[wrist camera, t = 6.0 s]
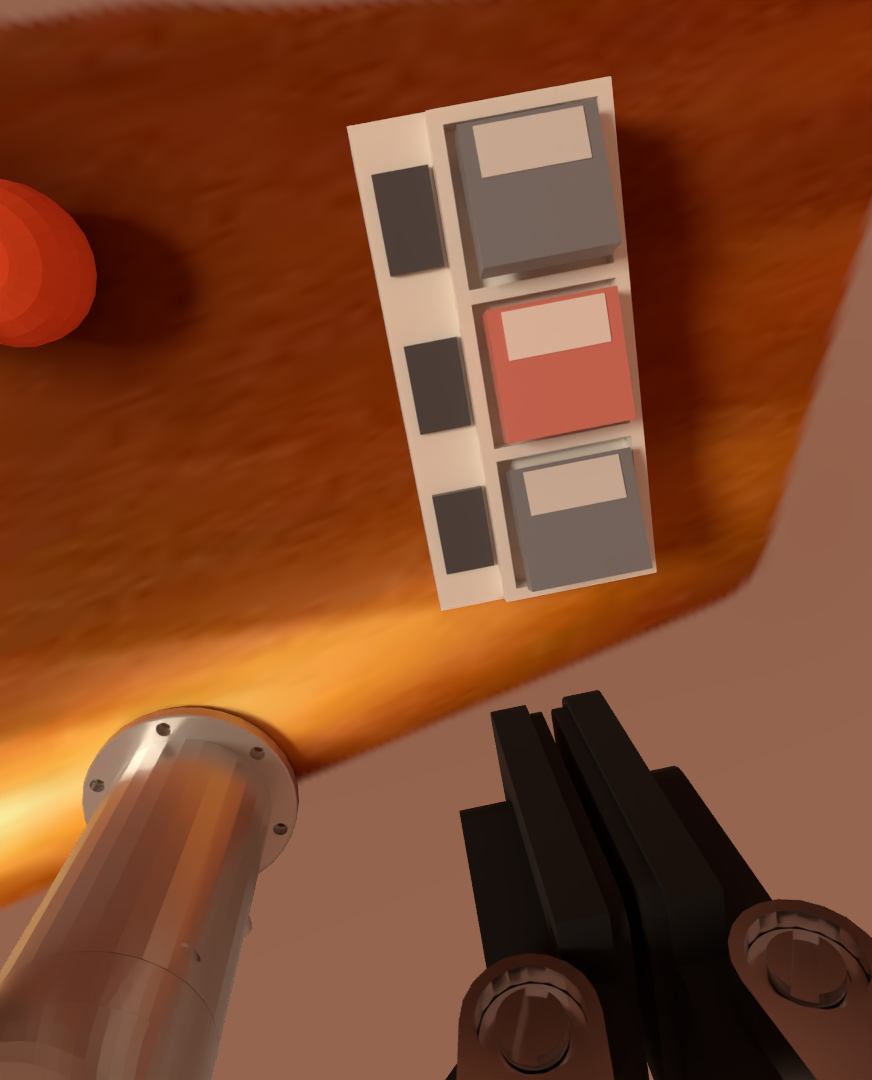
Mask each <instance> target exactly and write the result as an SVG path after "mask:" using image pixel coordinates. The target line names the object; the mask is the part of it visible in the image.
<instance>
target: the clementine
mask: <svg viewBox="0 0 872 1080" xmlns="http://www.w3.org/2000/svg"><path fill="white" fill-rule="evenodd" d="M96 282H97V272H96V266H95V260H94V255H93V252H92V250H91V248H90V245H89V243H88V241H87V238H86V236H85V234H84V233H83V231H82V230H81V229H80V227H79V226H78V225H77V223H76V222H75V220H74V219H73V218H72V217H71V216H70V215H69V214H68V213H67V212H66V211H65V210H63V209H62V208H61V207H60V206H59V205H58V204H57V203H55V202H54V201H53V200H51V199H50V198H49V197H47V196H46V195H44V194H42V193H40V192H38V191H36V190H35V189H33V188H31V187H29V186H27V185H24V184H20V183H16V182H12V181H8V180H4V179H0V344H2V345H7V346H11V347H37V346H40V345H43V344H46V343H49V342H52V341H55V340H58V339H61V338H63V337H64V336H66V335H67V334H69V333H70V332H71V331H73V330H74V329H76V328H77V327H78V326H79V325H80V323H81V322H82V321H83V319H84V318H85V317H86V316H87V314H88V313H89V310H90V308H91V305H92V303H93V300H94V297H95V293H96Z"/></svg>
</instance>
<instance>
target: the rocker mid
mask: <svg viewBox="0 0 872 1080" xmlns="http://www.w3.org/2000/svg"><path fill="white" fill-rule="evenodd" d="M482 317H483V323H484V329H485V335H486V341H487V346H488V352H489V358H490V364H491V369H492V375H493V381H494V387H495V393H496V398H497V404H498V410H499V416H500V422H501V427H502V433H503V439H504V443H507V444H510V443H515V442H521V441H526V440H531V439H536V438H541V437H546V436H551V435H557V434H562V433H567V432H572V431H577V430H582V429H587V428H592V427H598V426H603V425H608V424H613V423H618V422H623V421H628V420H633V419H636V414H635V407H634V400H633V393H632V386H631V379H630V372H629V365H628V357H627V350H626V343H625V336H624V329H623V322H622V315H621V307H620V300H619V293H618V286H611V287H606V288H601V289H596V290H590V291H585V292H580V293H575V294H569V295H564V296H559V297H554V298H549V299H543V300H538V301H533V302H528V303H522V304H517V305H512V306H507V307H502V308H496V309H491V310H486V311H485V313H484V314H483V315H482Z"/></svg>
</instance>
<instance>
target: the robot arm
mask: <svg viewBox="0 0 872 1080" xmlns="http://www.w3.org/2000/svg"><path fill="white" fill-rule="evenodd" d="M562 705H563V707H562V708H556V709H552V711H551V715H552V722H553V729H554V736H555V741H554V739H553V737H552V734H551V732H550V730H549V728H548V725H547V723H546V721H545V718H544V716H543V714H542V712H537V713H532V714H529V712H528V709H527V707H526V705H523V706H518V707H513V708H508V709H503V710H499V711H494V712H491V720H492V726H493V731H494V738H495V743H496V748H497V754H498V759H499V765H500V771H501V776H502V781H503V787H504V792H505V798H506V801H504V802H499V803H495V804H490V805H485V806H480V807H475V808H471V809H466V810H461V811H460V817H461V823H462V829H463V835H464V840H465V846H466V852H467V857H468V863H469V869H470V874H471V880H472V887H473V892H474V898H475V904H476V909H477V915H478V921H479V927H480V933H481V938H482V944H483V950H484V956H485V962H486V967H487V969H486V970H485V971H484V972H483V973H482V974H480V975H479V977H477V978H476V979H475V980H474V981H473V983H472V984H471V986H470V988H469V990H468V992H467V993H466V995H465V997H464V999H463V1001H462V1006H461V1012H460V1017H459V1025H458V1051H457V1052H458V1053H457V1064H456V1066H455V1067H454V1068H453V1070H452V1071H451V1073H450V1074H449V1075H448V1077H447V1078H446V1080H649V1074H648V1066H649V1068H650V1071H651V1074H652V1076H653V1079H654V1080H872V938H871V937H870V936H869V935H868V934H867V933H866V932H865V931H863V930H862V929H861V928H860V927H858V926H857V925H856V924H855V923H853V922H852V921H851V920H849V919H848V918H847V917H845V916H843V915H841V914H839V913H837V912H835V911H833V910H830V909H828V908H826V907H824V906H821V905H817V904H813V903H809V902H806V901H802V900H786V899H777V900H772V899H771V898H770V896H769V895H768V893H767V892H766V891H765V889H764V888H763V886H762V885H761V883H760V882H759V880H758V879H757V878H756V876H755V875H754V873H753V872H752V870H751V869H750V868H749V866H748V865H747V863H746V862H745V860H744V859H743V858H742V856H741V855H740V853H739V852H738V850H737V849H736V848H735V846H734V845H733V843H732V842H731V840H730V839H729V838H728V836H727V835H726V833H725V832H724V830H723V829H722V827H721V826H720V825H719V824H718V822H717V820H716V819H715V817H714V816H713V815H712V813H711V812H710V810H709V809H708V807H707V806H706V805H705V803H704V802H703V800H702V799H701V797H700V796H699V795H698V793H697V792H696V790H695V789H694V787H693V786H692V784H691V783H690V782H689V780H688V779H687V777H686V776H685V775H684V773H683V772H682V771H681V770H680V769H679V768H678V767H676V766H671V767H666V768H662V769H657V770H652V771H650V770H649V769H648V767H647V765H646V764H645V762H644V761H643V759H642V758H641V756H640V754H639V753H638V751H637V749H636V748H635V746H634V745H633V743H632V742H631V740H630V738H629V737H628V735H627V733H626V732H625V730H624V729H623V727H622V725H621V724H620V722H619V721H618V719H617V717H616V716H615V714H614V713H613V711H612V709H611V708H610V706H609V705H608V703H607V702H606V700H605V698H604V697H603V695H602V694H601V692H600V691H598V690H596V691H591V692H586V693H581V694H576V695H571V696H567V697H563V699H562ZM166 723H167V724H166ZM555 742H556V743H555ZM259 747H260V748H259ZM298 804H299V798H298V785H297V781H296V778H295V774H294V771H293V769H292V767H291V765H290V763H289V761H288V759H287V757H286V755H285V754H284V753H283V751H282V750H281V749H280V748H279V747H278V745H277V744H276V743H275V742H274V741H273V740H272V739H271V738H270V737H269V736H267V735H266V734H265V733H264V732H263V731H261V730H260V729H259V728H258V727H256V726H254V725H252V724H250V723H249V722H247V721H245V720H243V719H241V718H239V717H236V716H233V715H231V714H228V713H225V712H222V711H217V710H212V709H206V708H194V707H179V708H172V709H166V710H160V711H156V712H154V713H151V714H148V715H145V716H142V717H139V718H138V719H136V720H134V721H132V722H130V723H129V724H127V725H125V726H123V727H122V728H121V729H120V730H119V731H117V732H116V733H115V734H114V735H113V736H112V737H110V738H109V739H108V741H107V742H106V743H105V745H104V746H103V747H102V749H101V750H100V751H99V753H98V754H97V756H96V757H95V759H94V761H93V762H92V764H91V766H90V768H89V769H88V772H87V775H86V778H85V781H84V785H83V797H82V805H83V812H84V818H85V821H86V824H87V826H86V827H85V829H84V831H83V833H82V834H81V836H80V838H79V839H78V841H77V843H76V844H75V846H74V848H73V850H72V851H71V853H70V855H69V856H68V858H67V860H66V861H65V863H64V865H63V866H62V868H61V870H60V872H59V873H58V875H57V877H56V878H55V880H54V882H53V883H52V885H51V887H50V888H49V890H48V892H47V894H46V895H45V897H44V899H43V900H42V902H41V904H40V905H39V907H38V909H37V910H36V912H35V914H34V916H33V917H32V919H31V921H30V922H29V924H28V926H27V927H26V929H25V931H24V932H23V934H22V936H21V938H20V939H19V941H18V943H17V944H16V946H15V948H14V950H13V951H12V953H11V954H10V956H9V958H8V960H7V961H6V963H5V965H4V966H3V968H2V970H1V971H0V1080H211V1079H212V1075H213V1070H214V1066H215V1062H216V1058H217V1054H218V1050H219V1045H220V1041H221V1036H222V1032H223V1027H224V1023H225V1018H226V1014H227V1010H228V1005H229V1001H230V996H231V992H232V987H233V983H234V978H235V974H236V969H237V965H238V961H239V956H240V952H241V947H242V943H243V938H244V937H246V936H247V935H248V934H249V933H250V931H251V929H252V923H251V920H250V917H249V912H250V907H251V903H252V898H253V893H254V889H255V885H256V880H257V876H258V874H259V873H260V872H261V871H263V870H264V869H265V868H267V867H268V866H269V865H270V864H272V863H273V861H274V860H275V859H276V858H277V857H278V856H279V855H280V853H281V852H282V851H283V850H284V848H285V846H286V845H287V843H288V841H289V839H290V837H291V835H292V832H293V829H294V825H295V822H296V818H297V811H298ZM647 1063H648V1066H647Z"/></svg>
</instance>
